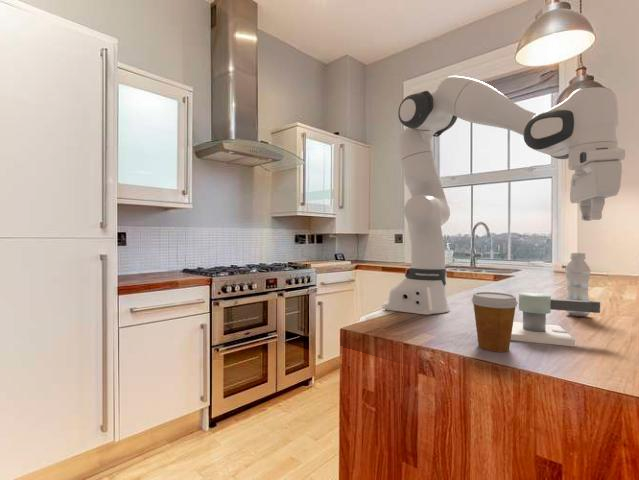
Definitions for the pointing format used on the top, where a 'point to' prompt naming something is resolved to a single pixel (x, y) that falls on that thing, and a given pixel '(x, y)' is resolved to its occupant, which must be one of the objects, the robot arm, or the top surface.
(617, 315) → the top surface
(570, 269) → the plastic bottle
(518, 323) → the lock base
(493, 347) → the disposable coffee cup
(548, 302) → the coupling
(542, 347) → the top surface
